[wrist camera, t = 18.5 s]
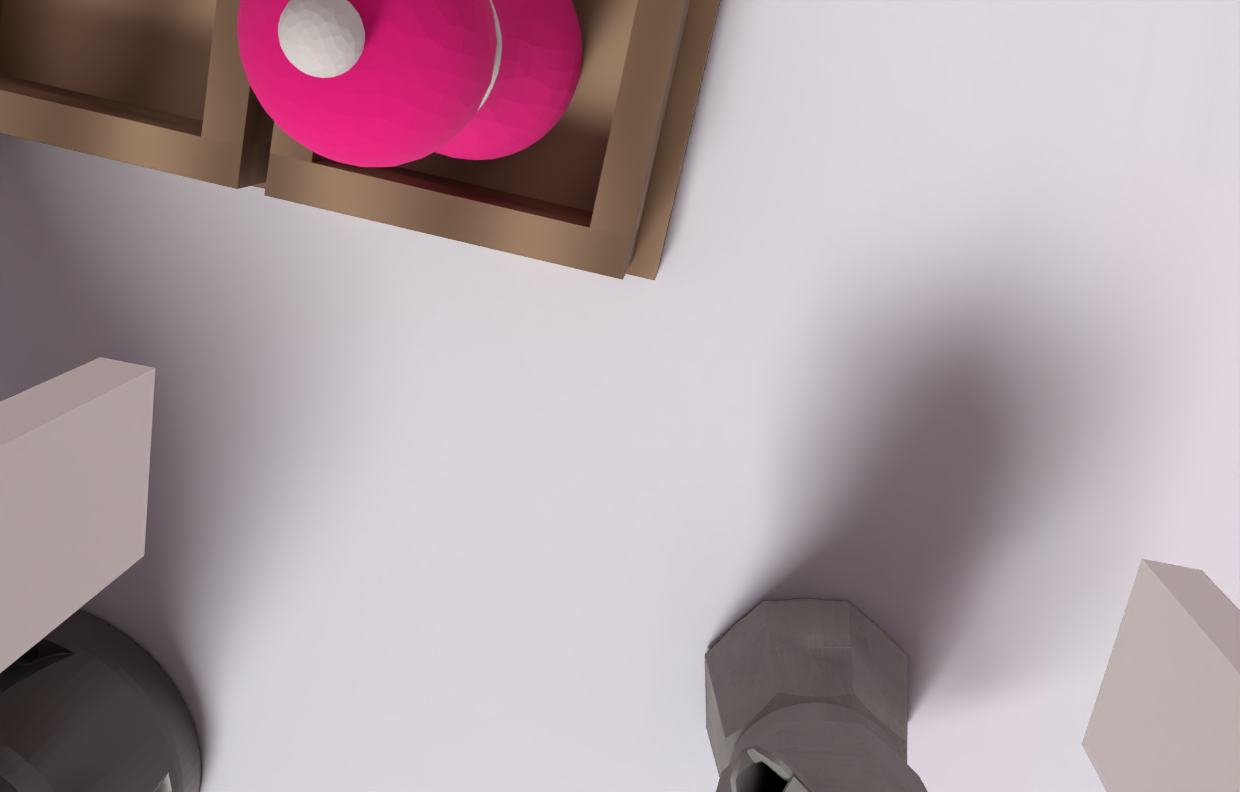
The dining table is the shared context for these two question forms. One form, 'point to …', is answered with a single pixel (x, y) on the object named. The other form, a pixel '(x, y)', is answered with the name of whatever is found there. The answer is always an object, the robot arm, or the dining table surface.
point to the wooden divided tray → (401, 195)
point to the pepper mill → (411, 74)
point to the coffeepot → (808, 702)
